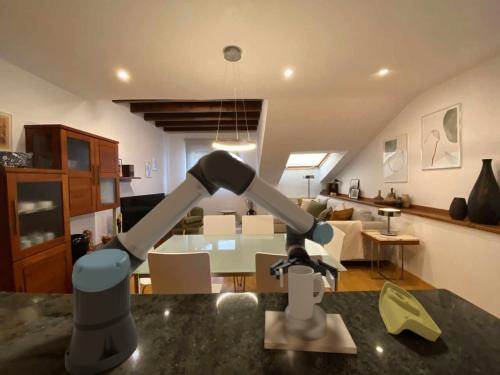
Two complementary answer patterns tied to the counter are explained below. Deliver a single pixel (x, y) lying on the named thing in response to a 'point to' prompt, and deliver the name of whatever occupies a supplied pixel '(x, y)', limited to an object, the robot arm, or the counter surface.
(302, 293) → the mug
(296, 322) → the board with round cheese
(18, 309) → the counter surface
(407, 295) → the plastic component
